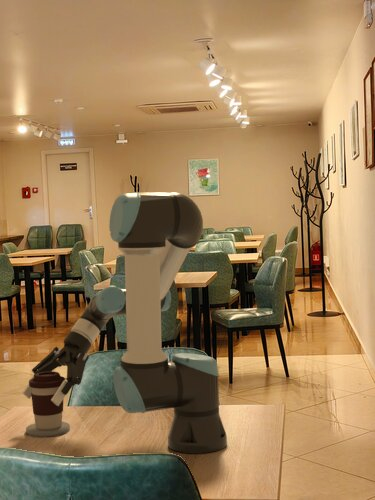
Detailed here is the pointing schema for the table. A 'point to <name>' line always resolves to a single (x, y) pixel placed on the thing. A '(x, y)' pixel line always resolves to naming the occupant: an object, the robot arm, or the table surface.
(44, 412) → the coffee cup
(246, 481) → the table surface
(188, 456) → the table surface
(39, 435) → the slate coaster
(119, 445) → the table surface
